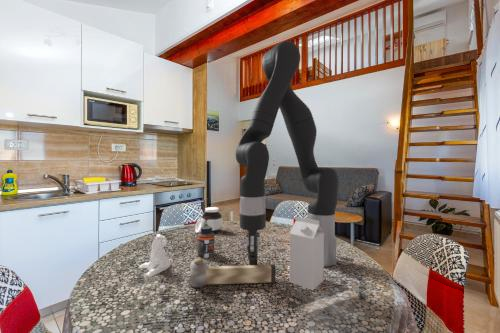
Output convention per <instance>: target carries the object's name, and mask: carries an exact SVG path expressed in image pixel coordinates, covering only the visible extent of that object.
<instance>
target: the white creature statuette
mask: <svg viewBox="0 0 500 333" xmlns="http://www.w3.org/2000/svg"><path fill="white" fill-rule="evenodd" d="M167 244H168V240H167V237H166V236H164V235H163V234H159V233H157V234H156V236H155V239H154V240H152V244H151V252H150V253H149V254H150V255H149V257H150V258H149V261H148V262H143V263H142V264H140V265H139V270H142V269H143V270H144V269H146V270H148V272H146V273H145V277H146V278H151V277H155V276H156V275H158V274H160V273H161V272H164V271H167V270H168V268H170V267H171V264H172V263H171V261H170V258H169V257H168V256H167V253H166V250H165V249H164V248H165V247H166V245H167Z"/></svg>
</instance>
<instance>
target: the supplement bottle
mask: <svg viewBox="0 0 500 333" xmlns="http://www.w3.org/2000/svg"><path fill="white" fill-rule="evenodd" d="M197 234H198V235H197V257H199V258H202V259H207V258H208V259H209V258H212V257H214V255H215V236H216V235H215V233H213V232H212V227H211V226H203V227H201V232H200V233H197Z"/></svg>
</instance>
